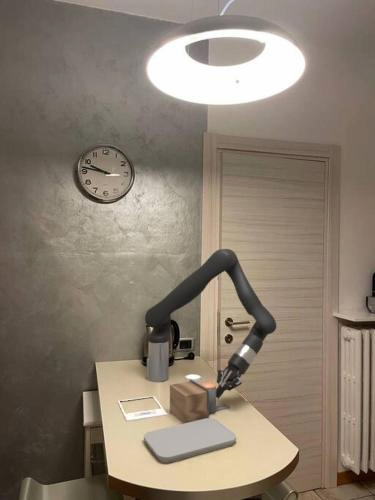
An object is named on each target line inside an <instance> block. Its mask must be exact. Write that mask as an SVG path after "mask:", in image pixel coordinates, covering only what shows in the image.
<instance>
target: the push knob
mask: <svg viewBox="0 0 375 500" xmlns="http://www.w3.org/2000/svg"><path fill="white" fill-rule="evenodd" d="M200 385H202V386H203V387H205V388H207V389H208V390H209V414H213V413H216V412H215V411H216V406H217V397H216V389H217V382H213V381H210V380H209V381H207V380H206V381H201V383H200ZM212 412H213V413H212Z"/></svg>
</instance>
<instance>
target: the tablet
mask: <svg viewBox="0 0 375 500" xmlns="http://www.w3.org/2000/svg"><path fill="white" fill-rule="evenodd" d="M236 439H237V435H236V434H235V432H233V431H232V430H231V429H230V428H228V427H227V426H226V425H224V424H223V423H222V422H220V421H219V420H218V419H215V418H212V417H209V418H206V419H201V420H197V421H193V422H188V423H184V424H183V423H180V424H176V425H172V426H168V427H163V428H158V429H154V430H151V431H147V432H145V433H144V435H143V440H144V442H145V444H146V445H147V447H148V448H149V449H150V450H151V452H152V453H153V454H154V455H155V457H156V458H157V460H158V461H160V462H161V463H164V464H165V463H166V464H167V463H172V462H177V461H180V460H183V459H187V458H191V457H194V456H198V455H202V454H204V453H208V452H212V451H215V450H220V449H223V448H227V447H230V446H232V445H233V444H234V443H235V441H236Z"/></svg>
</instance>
